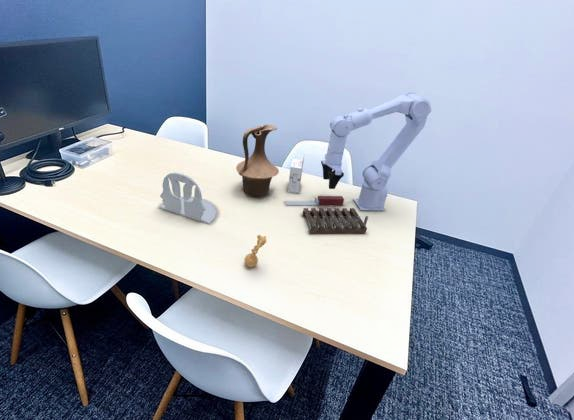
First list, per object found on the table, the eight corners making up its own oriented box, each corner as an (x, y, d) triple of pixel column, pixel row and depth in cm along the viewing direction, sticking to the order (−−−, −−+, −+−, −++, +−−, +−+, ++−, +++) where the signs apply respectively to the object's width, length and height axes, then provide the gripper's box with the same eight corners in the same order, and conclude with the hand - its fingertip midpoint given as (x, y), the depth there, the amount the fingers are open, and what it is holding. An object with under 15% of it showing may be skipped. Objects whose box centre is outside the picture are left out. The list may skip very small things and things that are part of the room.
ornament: (158, 208, 124) (153, 167, 115) (178, 193, 134) (176, 154, 125) (209, 224, 117) (208, 182, 108) (226, 207, 127) (227, 167, 118)
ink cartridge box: (288, 182, 147) (293, 151, 139) (300, 184, 146) (305, 153, 138) (287, 192, 140) (291, 159, 132) (298, 193, 139) (303, 161, 131)
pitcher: (253, 206, 128) (258, 136, 113) (226, 189, 139) (227, 123, 124) (284, 193, 139) (292, 127, 124) (256, 178, 149) (261, 116, 134)
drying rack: (352, 214, 127) (357, 198, 124) (365, 234, 117) (370, 218, 113) (301, 214, 126) (304, 198, 122) (310, 234, 115) (313, 218, 111)
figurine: (250, 255, 104) (252, 223, 97) (268, 261, 102) (271, 229, 96) (239, 271, 97) (240, 239, 91) (258, 278, 95) (261, 245, 89)
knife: (340, 202, 135) (342, 195, 133) (342, 205, 132) (344, 199, 131) (285, 202, 133) (286, 195, 131) (286, 205, 130) (287, 199, 129)
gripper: (319, 143, 126) (314, 175, 134) (330, 158, 114) (323, 192, 121) (337, 143, 127) (331, 175, 134) (350, 158, 115) (342, 193, 122)
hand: (328, 183), depth 128 cm, fingers open, 7 cm apart
